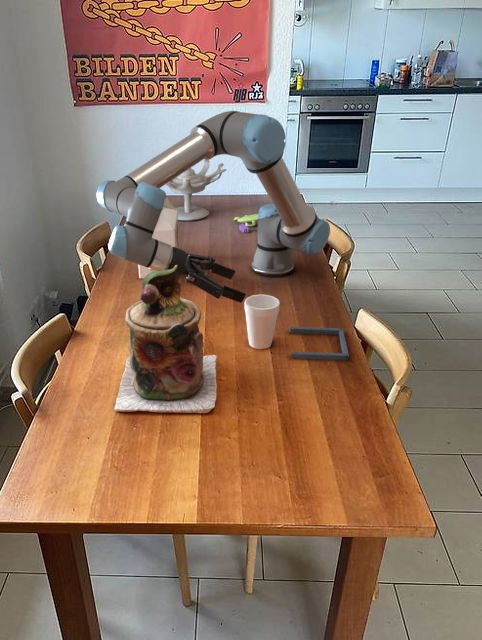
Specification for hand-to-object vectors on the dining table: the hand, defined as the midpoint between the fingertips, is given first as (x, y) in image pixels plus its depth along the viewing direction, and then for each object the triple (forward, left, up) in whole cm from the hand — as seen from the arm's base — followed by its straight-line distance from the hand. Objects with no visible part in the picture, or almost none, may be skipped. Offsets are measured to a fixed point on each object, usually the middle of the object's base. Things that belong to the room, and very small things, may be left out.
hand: (238, 286), depth 159 cm
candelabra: (-60, -98, -16) cm, 116 cm away
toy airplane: (-74, -63, -16) cm, 98 cm away
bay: (-14, +18, -16) cm, 28 cm away
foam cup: (-2, +7, -16) cm, 18 cm away
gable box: (-15, -58, -16) cm, 62 cm away
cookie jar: (+30, +7, -16) cm, 35 cm away
